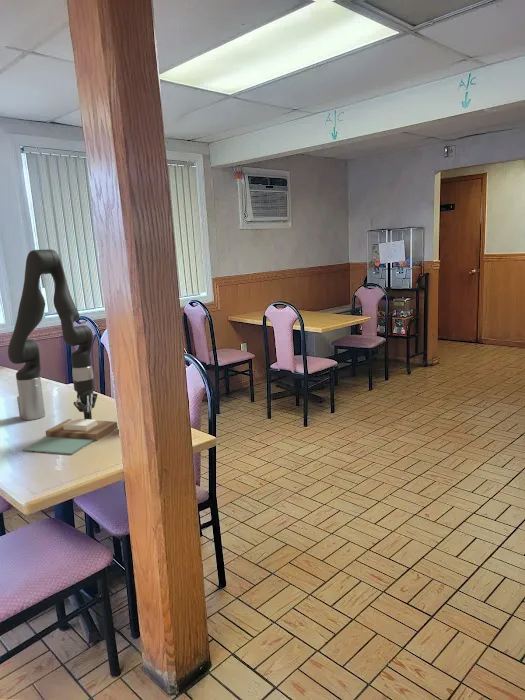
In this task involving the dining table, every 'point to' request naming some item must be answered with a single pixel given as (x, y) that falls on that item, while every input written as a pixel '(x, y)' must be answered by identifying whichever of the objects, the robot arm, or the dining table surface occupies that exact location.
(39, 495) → the dining table surface
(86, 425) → the plastic block
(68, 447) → the rubber mat
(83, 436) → the board
